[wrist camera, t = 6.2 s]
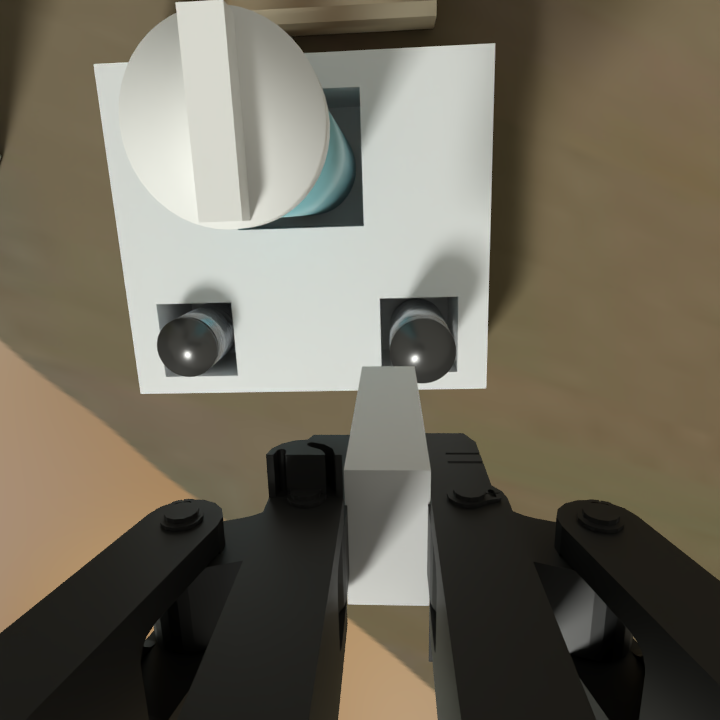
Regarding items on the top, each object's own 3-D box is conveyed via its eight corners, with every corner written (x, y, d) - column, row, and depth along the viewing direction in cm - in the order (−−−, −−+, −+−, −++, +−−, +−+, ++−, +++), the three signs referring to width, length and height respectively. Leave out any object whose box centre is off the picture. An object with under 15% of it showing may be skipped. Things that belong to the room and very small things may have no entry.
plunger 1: (200, 348, 29) (160, 377, 24) (195, 299, 29) (153, 319, 24) (249, 347, 29) (219, 376, 24) (244, 298, 29) (213, 317, 23)
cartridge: (266, 220, 28) (118, 234, 13) (258, 118, 27) (84, -4, 11) (361, 217, 28) (326, 227, 12) (358, 113, 26) (314, -18, 11)
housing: (179, 365, 31) (140, 393, 26) (145, 89, 27) (93, 64, 22) (470, 359, 30) (486, 388, 25) (476, 73, 26) (495, 43, 21)
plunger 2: (390, 351, 27) (390, 383, 22) (389, 298, 27) (389, 320, 22) (443, 350, 27) (455, 383, 22) (443, 297, 27) (456, 318, 21)
